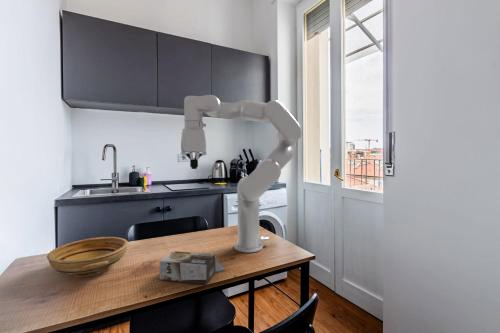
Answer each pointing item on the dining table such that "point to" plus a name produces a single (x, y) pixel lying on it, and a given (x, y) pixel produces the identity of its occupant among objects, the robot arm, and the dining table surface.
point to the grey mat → (218, 266)
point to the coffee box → (188, 267)
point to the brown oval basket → (87, 255)
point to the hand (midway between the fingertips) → (194, 168)
